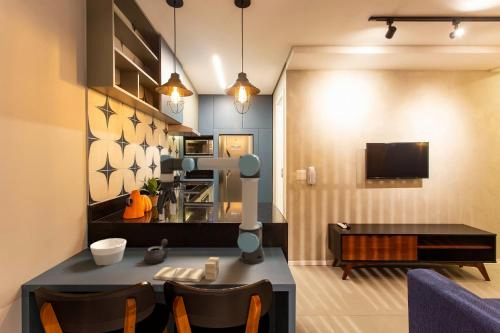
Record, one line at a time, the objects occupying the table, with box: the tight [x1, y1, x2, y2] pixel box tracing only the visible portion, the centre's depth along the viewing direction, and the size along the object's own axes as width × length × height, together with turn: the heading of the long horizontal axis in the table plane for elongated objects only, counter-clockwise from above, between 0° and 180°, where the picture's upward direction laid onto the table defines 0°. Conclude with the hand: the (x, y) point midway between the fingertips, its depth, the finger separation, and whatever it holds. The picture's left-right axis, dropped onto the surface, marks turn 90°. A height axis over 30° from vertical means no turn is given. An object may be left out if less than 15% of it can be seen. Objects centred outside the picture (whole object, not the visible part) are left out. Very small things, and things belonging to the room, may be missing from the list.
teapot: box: [143, 238, 171, 265], centre depth 158 cm, size 19×15×10 cm
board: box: [153, 266, 205, 283], centre depth 136 cm, size 24×11×2 cm, turn 82°
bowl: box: [90, 237, 127, 266], centre depth 155 cm, size 19×19×11 cm
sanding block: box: [204, 256, 220, 282], centre depth 135 cm, size 9×5×8 cm, turn 172°
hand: (167, 216), depth 151 cm, fingers open, 13 cm apart
